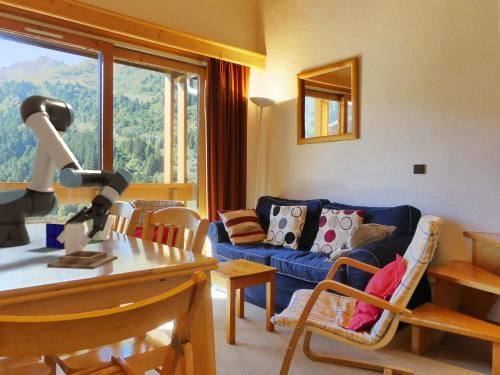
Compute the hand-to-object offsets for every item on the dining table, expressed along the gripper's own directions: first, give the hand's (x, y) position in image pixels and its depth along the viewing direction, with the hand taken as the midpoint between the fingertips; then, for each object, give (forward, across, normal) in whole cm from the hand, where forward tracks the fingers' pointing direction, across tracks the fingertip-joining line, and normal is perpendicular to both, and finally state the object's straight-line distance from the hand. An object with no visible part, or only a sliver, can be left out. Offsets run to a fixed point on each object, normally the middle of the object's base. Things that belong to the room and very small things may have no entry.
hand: (70, 242), depth 143 cm
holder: (+6, -14, -1) cm, 15 cm away
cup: (-19, +25, -26) cm, 40 cm away
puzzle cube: (-4, +21, -12) cm, 24 cm away
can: (+2, 0, -5) cm, 5 cm away
